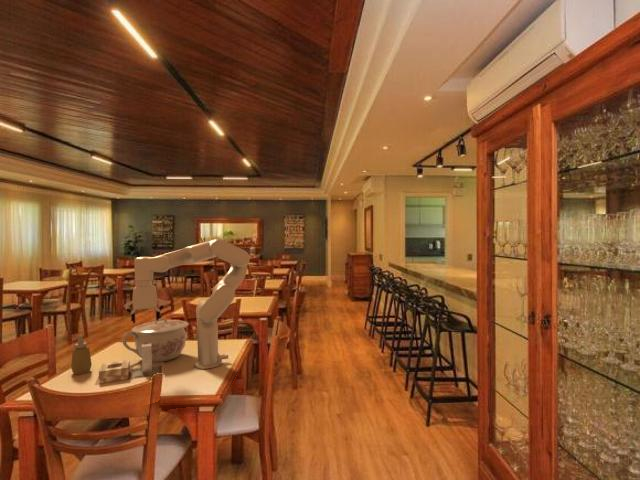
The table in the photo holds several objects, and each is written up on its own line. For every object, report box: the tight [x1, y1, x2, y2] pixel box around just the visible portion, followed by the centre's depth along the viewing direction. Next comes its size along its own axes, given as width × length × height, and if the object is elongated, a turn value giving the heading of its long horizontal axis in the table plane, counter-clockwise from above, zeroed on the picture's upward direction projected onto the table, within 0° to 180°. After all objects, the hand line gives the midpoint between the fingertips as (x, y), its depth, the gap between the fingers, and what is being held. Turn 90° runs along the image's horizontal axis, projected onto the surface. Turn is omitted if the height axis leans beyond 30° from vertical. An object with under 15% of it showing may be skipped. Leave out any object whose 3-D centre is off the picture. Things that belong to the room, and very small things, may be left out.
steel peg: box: [141, 343, 153, 373], centre depth 173 cm, size 4×4×12 cm
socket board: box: [94, 359, 163, 386], centre depth 170 cm, size 26×13×6 cm, turn 113°
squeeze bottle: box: [70, 335, 93, 376], centre depth 175 cm, size 8×8×18 cm
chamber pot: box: [121, 317, 190, 363], centre depth 196 cm, size 28×28×21 cm
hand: (145, 321), depth 173 cm, fingers open, 9 cm apart
